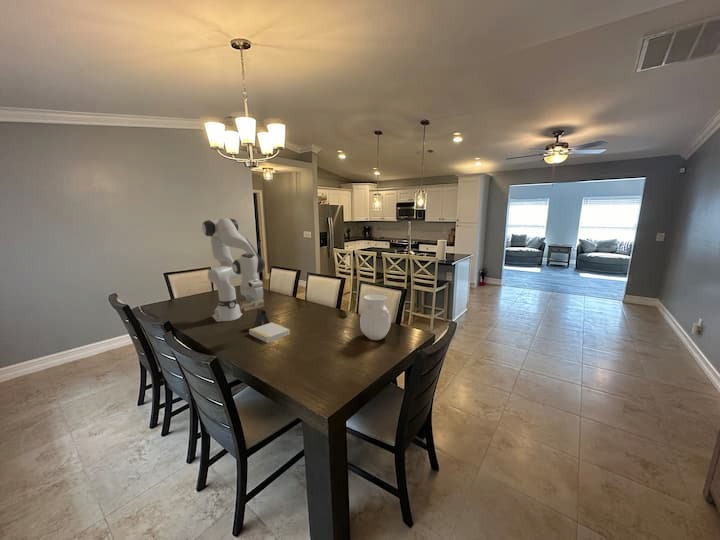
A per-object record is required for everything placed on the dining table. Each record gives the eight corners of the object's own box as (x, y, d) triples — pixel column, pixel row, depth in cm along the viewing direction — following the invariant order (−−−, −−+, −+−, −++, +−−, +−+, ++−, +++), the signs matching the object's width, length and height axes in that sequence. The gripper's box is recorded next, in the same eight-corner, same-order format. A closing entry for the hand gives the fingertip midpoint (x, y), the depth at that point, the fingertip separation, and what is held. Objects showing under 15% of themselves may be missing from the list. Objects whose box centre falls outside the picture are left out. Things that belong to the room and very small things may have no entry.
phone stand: (258, 329, 185) (256, 312, 183) (254, 327, 189) (252, 310, 187) (270, 325, 191) (269, 308, 189) (266, 323, 196) (265, 307, 193)
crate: (247, 301, 168) (246, 294, 168) (253, 299, 171) (252, 293, 171) (250, 302, 166) (249, 295, 165) (256, 300, 169) (256, 294, 168)
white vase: (374, 328, 185) (374, 291, 180) (397, 336, 172) (397, 296, 167) (353, 337, 172) (352, 297, 167) (376, 346, 159) (376, 303, 154)
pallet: (240, 309, 167) (239, 302, 166) (259, 304, 176) (258, 297, 175) (245, 311, 163) (244, 304, 162) (264, 305, 172) (263, 299, 171)
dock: (249, 334, 178) (249, 329, 178) (271, 326, 190) (271, 321, 190) (267, 342, 165) (266, 337, 165) (290, 334, 177) (289, 329, 177)
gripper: (236, 280, 171) (238, 302, 173) (254, 285, 158) (256, 309, 160) (246, 278, 176) (248, 299, 178) (264, 283, 162) (266, 306, 165)
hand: (252, 304), depth 169 cm, fingers closed on pallet, 6 cm apart
